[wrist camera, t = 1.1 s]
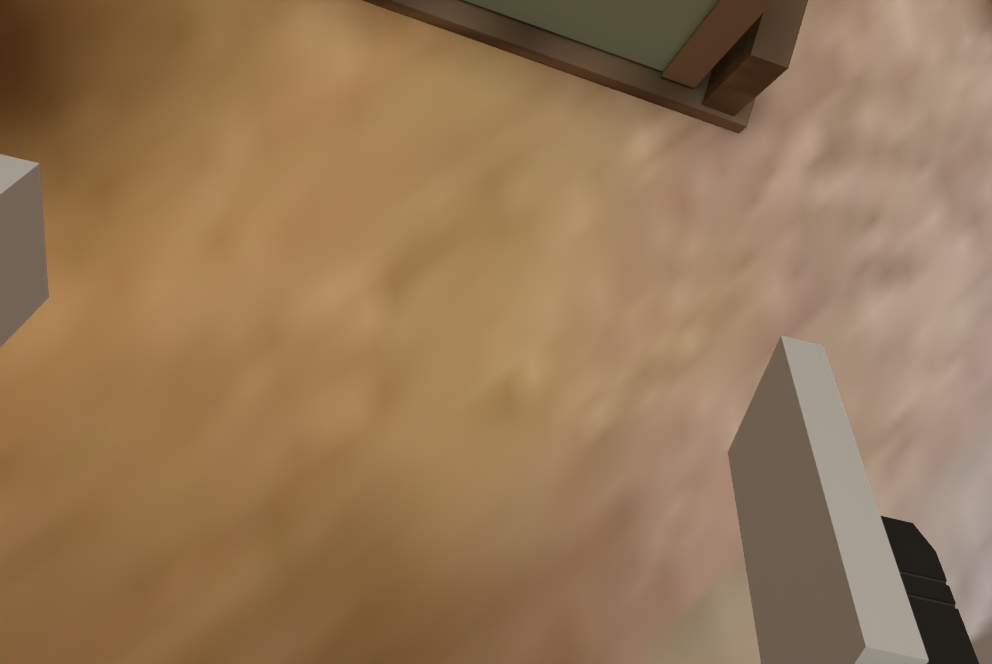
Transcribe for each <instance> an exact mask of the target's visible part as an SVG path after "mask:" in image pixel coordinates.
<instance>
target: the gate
mask: <svg viewBox="0 0 992 664" xmlns="http://www.w3.org/2000/svg"><path fill="white" fill-rule="evenodd" d="M464 1H467V2H470V3H473V4H475V5H478V6H481V7H484V8H487V9H489V10H492V11H495V12H498V13H501V14H503V15H506V16H509V17H512V18H515V19H518V20H520V21H523V22H526V23H529V24H532V25H534V26H537V27H540V28H543V29H546V30H548V31H551V32H554V33H557V34H560V35H562V36H565V37H568V38H571V39H574V40H576V41H579V42H582V43H585V44H588V45H590V46H593V47H596V48H599V49H602V50H604V51H607V52H610V53H613V54H616V55H618V56H621V57H624V58H627V59H630V60H632V61H635V62H638V63H641V64H644V65H646V66H649V67H652V68H655V69H658V70H660V71H663V72H662V75H661V76H662V77H664V78H667V79H670V80H673V81H676V82H678V83H681V84H684V85H687V86H690V87H692V88H695V87H696V86H697V85H698V83H699V82H700V81H701V80H702V79H703V78H704V77H705V76H706V75H707V74H708V72H709V71H710V70H711V69H712V68H713V67H714V66H715V65H716V64H717V63H718V61H719V60H720V59H721V58H722V57H723V56H724V55H725V54H726V53H727V52H728V51H729V49H730V48H731V47H732V46H733V45H734V44H735V43H736V42H737V41H738V40H739V38H740V37H741V36H742V35H743V34H744V33H745V32H746V31H747V30H748V29H749V27H750V26H751V25H752V24H753V23H754V22H755V21H756V20H757V19H758V18H759V17H760V15H761V14H762V13H763V12H764V11H765V10H766V9H767V8H768V7H769V6H770V4H771V3H772V2H773V1H774V0H464Z"/></svg>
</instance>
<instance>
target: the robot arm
mask: <svg viewBox="0 0 992 664" xmlns="http://www.w3.org/2000/svg"><path fill="white" fill-rule="evenodd" d="M48 297H49V293H48V278H47V264H46V249H45V234H44V220H43V205H42V191H41V176H40V163H36V162H32V161H27V160H23V159H19V158H15V157H10V156H6V155H2V154H0V347H1V346H2V345H3V344H4V343H5V342H6V341H7V340H8V339H9V338H10V337H11V336H12V335H13V334H14V333H15V332H16V331H17V330H18V329H19V328H20V327H21V325H22V324H23V323H24V322H25V321H26V320H27V319H28V318H29V317H30V316H31V315H32V314H33V313H34V312H35V311H36V310H37V309H38V308H39V307H40V306H41V305H42V304H43V303H44V302H45V301H46V299H47V298H48ZM728 456H729V462H730V469H731V475H732V481H733V488H734V494H735V500H736V507H737V513H738V519H739V526H740V532H741V538H742V545H743V551H744V557H745V564H746V570H747V576H748V583H749V589H750V595H751V602H752V608H753V614H754V621H755V627H756V633H757V640H758V646H759V652H760V659H761V664H979V663H978V660H977V657H976V655H975V652H974V649H973V647H972V644H971V642H970V639H969V636H968V634H967V631H966V629H965V626H964V623H963V621H962V618H961V616H960V613H959V611H958V609H955V604H956V603H955V600H954V598H953V595H952V592H951V590H950V587H949V586H948V585H946V581H947V580H946V577H945V574H944V572H943V569H942V567H941V564H940V561H939V559H938V556H937V554H936V551H935V550H934V549H933V548H932V546H931V545H930V544H929V543H928V541H927V540H926V539H925V538H924V537H923V535H922V534H921V533H920V532H919V530H918V529H917V528H916V527H915V525H914V524H913V523H910V522H905V521H901V520H896V519H892V518H888V517H883V516H880V513H879V510H878V507H877V504H876V501H875V498H874V495H873V492H872V489H871V486H870V483H869V480H868V477H867V474H866V471H865V468H864V465H863V462H862V459H861V456H860V453H859V450H858V447H857V444H856V442H855V439H854V436H853V433H852V430H851V427H850V424H849V421H848V418H847V415H846V412H845V409H844V406H843V403H842V400H841V397H840V394H839V391H838V388H837V385H836V382H835V379H834V376H833V373H832V370H831V367H830V364H829V361H828V358H827V355H826V352H825V349H824V346H823V345H819V344H815V343H811V342H806V341H802V340H798V339H793V338H789V337H785V336H781V337H780V339H779V341H778V343H777V346H776V348H775V350H774V352H773V354H772V357H771V359H770V361H769V363H768V365H767V368H766V370H765V372H764V374H763V376H762V379H761V381H760V383H759V385H758V387H757V390H756V392H755V394H754V396H753V398H752V401H751V403H750V405H749V407H748V409H747V411H746V414H745V416H744V418H743V420H742V422H741V425H740V427H739V429H738V431H737V433H736V436H735V438H734V440H733V442H732V444H731V447H730V449H729V451H728Z"/></svg>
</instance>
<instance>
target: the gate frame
mask: <svg viewBox="0 0 992 664" xmlns="http://www.w3.org/2000/svg"><path fill="white" fill-rule="evenodd" d="M364 1H367V2H370V3H373V4H376V5H378V6H381V7H384V8H387V9H390V10H393V11H395V12H398V13H401V14H404V15H407V16H409V17H412V18H415V19H418V20H421V21H424V22H426V23H429V24H432V25H435V26H438V27H441V28H443V29H446V30H449V31H452V32H455V33H458V34H460V35H463V36H466V37H469V38H472V39H474V40H477V41H480V42H483V43H486V44H489V45H491V46H494V47H497V48H500V49H503V50H506V51H508V52H511V53H514V54H517V55H520V56H523V57H525V58H528V59H531V60H534V61H537V62H539V63H542V64H545V65H548V66H551V67H554V68H556V69H559V70H562V71H565V72H568V73H571V74H573V75H576V76H579V77H582V78H585V79H588V80H590V81H593V82H596V83H599V84H602V85H604V86H607V87H610V88H613V89H616V90H619V91H621V92H624V93H627V94H630V95H633V96H636V97H638V98H641V99H644V100H647V101H650V102H653V103H655V104H658V105H661V106H664V107H667V108H669V109H672V110H675V111H678V112H681V113H684V114H686V115H689V116H692V117H695V118H698V119H701V120H703V121H706V122H709V123H712V124H715V125H718V126H720V127H723V128H726V129H729V130H732V131H734V132H737V133H739V132H741V131H742V130H743V129H744V128H745V127H747V124H748V120H749V117H750V113H751V110H752V107H753V103H754V100H755V97H756V96H757V95H759V94H760V93H761V92H762V91H763V90H764V89H765V88H767V87H768V86H769V85H770V84H771V83H772V82H773V81H774V80H776V79H777V78H778V77H779V76H780V75H781V74H782V73H783V72H785V71H786V70H787V69H788V67H789V64H790V60H791V57H792V54H793V50H794V47H795V43H796V40H797V36H798V33H799V30H800V26H801V23H802V19H803V16H804V12H805V9H806V5H807V2H808V0H774V1H773V2H772V3H771V4H770V6H769V7H768V8H767V9H766V10H765V11H764V12H763V13H762V14H761V15H760V17H759V18H758V19H757V20H756V21H755V22H754V23H753V24H752V25H751V26H750V27H749V29H748V30H747V31H746V32H745V33H744V34H743V35H742V36H741V37H740V38H739V40H738V41H737V42H736V43H735V44H734V45H733V46H732V47H731V48H730V49H729V51H728V52H727V53H726V54H725V55H724V56H723V57H722V58H721V59H720V60H719V61H718V63H717V64H716V65H715V66H714V67H713V68H712V69H711V70H710V71H709V72H708V74H707V75H706V76H705V77H704V78H703V79H702V80H701V81H700V82H699V83H698V85H697V86H696V87H695V88H692V87H690V86H687V85H684V84H681V83H678V82H676V81H673V80H670V79H667V78H664V77H662V76H661V75H662V72H663V71H660V70H658V69H655V68H652V67H649V66H646V65H644V64H641V63H638V62H635V61H632V60H630V59H627V58H624V57H621V56H618V55H616V54H613V53H610V52H607V51H604V50H602V49H599V48H596V47H593V46H590V45H588V44H585V43H582V42H579V41H576V40H574V39H571V38H568V37H565V36H562V35H560V34H557V33H554V32H551V31H548V30H546V29H543V28H540V27H537V26H534V25H532V24H529V23H526V22H523V21H520V20H518V19H515V18H512V17H509V16H506V15H503V14H501V13H498V12H495V11H492V10H489V9H487V8H484V7H481V6H478V5H475V4H473V3H470V2H467V1H464V0H364Z"/></svg>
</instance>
